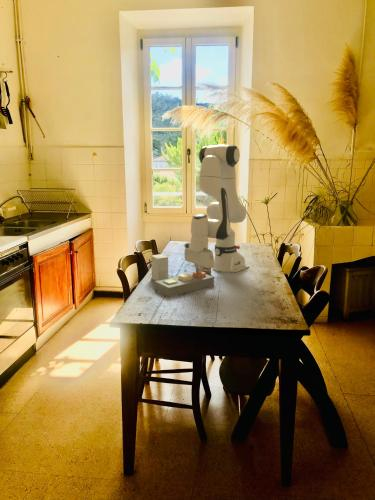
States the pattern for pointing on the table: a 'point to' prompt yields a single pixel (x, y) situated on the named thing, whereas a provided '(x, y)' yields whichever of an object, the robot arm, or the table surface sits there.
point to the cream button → (184, 277)
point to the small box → (159, 267)
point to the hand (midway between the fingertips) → (198, 272)
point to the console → (183, 285)
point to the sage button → (170, 282)
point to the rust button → (199, 274)
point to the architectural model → (206, 270)
